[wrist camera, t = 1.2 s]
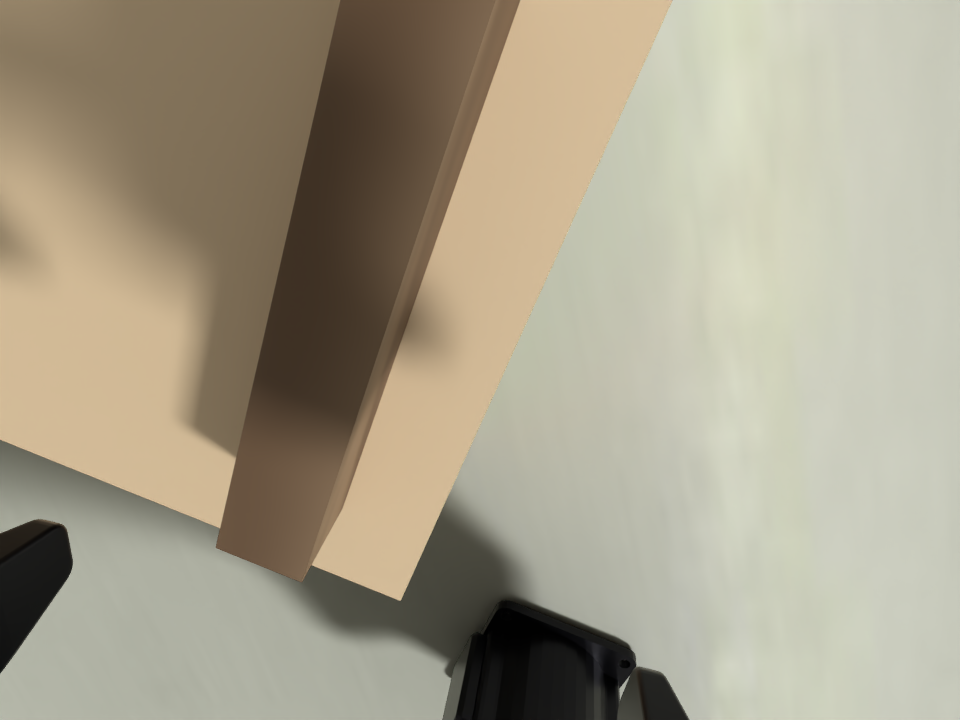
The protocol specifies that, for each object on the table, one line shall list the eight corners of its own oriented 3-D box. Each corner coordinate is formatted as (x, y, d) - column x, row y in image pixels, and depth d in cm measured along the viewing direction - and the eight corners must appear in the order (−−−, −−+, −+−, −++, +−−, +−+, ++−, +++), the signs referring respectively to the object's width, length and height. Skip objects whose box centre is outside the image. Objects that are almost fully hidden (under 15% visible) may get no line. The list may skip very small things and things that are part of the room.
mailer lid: (718, -108, 10) (770, -177, 7) (406, 584, 17) (371, 683, 14) (-541, -656, 9) (-1023, -964, 6) (-297, 300, 17) (-471, 347, 14)
